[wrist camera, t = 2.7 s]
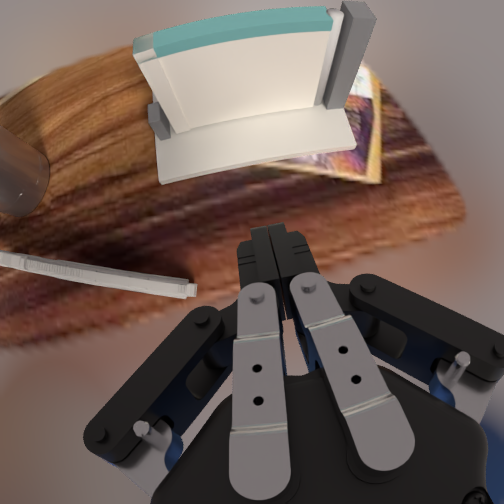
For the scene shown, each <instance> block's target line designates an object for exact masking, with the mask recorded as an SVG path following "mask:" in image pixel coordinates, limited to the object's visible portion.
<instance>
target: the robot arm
mask: <svg viewBox="0 0 504 504" xmlns="http://www.w3.org/2000/svg"><path fill="white" fill-rule="evenodd" d="M49 174H50V170H49V163H48V160H47V158H46V157H45V156H44V155H43V154H42V153H40V152H39V151H37V150H36V149H34V148H33V147H31V146H30V145H28V144H27V143H26V142H24V141H23V140H21V139H20V138H18V137H17V136H15V135H14V134H12V133H11V132H9V131H8V130H7V129H5V128H4V127H2V126H1V125H0V212H2V213H7V214H10V215H13V216H16V217H22V216H25V215H27V214H29V213H30V212H32V211H33V210H34V209H35V208H36V206H37V205H38V204H39V202H40V201H41V199H42V197H43V195H44V193H45V191H46V188H47V185H48V181H49ZM267 227H268V231H267ZM267 227H266V226H262V227H257V228H252V229H250V231H251V237H252V240H249V241H244V242H240V244H239V246H238V248H237V258H238V268H239V278H240V288H241V291H240V293H239V295H238V299H237V300H236V301H235V302H234V303H233V304H232V305H230V306H228V307H226V308H224V309H222V310H220V311H218V310H217V309H216V308H214V307H211V306H201V307H198V308H195V309H194V310H192V311H191V312H189V313H188V314H187V316H186V317H185V318H184V319H183V320H182V321H181V322H180V323H179V324H178V325H177V327H176V328H175V329H174V330H173V331H172V332H171V333H170V334H169V335H168V336H167V338H166V339H165V340H164V341H163V342H162V343H161V344H160V345H159V346H158V347H157V348H156V350H155V351H154V352H153V353H152V354H151V355H150V356H149V357H148V358H147V359H146V361H145V362H144V363H143V364H142V365H141V366H140V367H139V368H138V369H137V370H136V371H135V373H134V374H133V375H132V376H131V377H130V378H129V379H128V380H127V381H126V382H125V384H124V385H123V386H122V387H121V388H120V389H119V390H118V391H117V392H116V394H115V395H114V396H113V397H112V398H111V399H110V400H109V401H108V402H107V403H106V404H105V406H104V407H103V408H102V409H101V410H100V411H99V412H98V413H97V414H96V416H95V417H94V418H93V419H92V420H91V421H90V422H89V423H88V425H87V426H86V428H85V430H84V436H83V440H84V444H85V446H86V447H87V449H88V450H89V451H90V452H92V453H94V454H95V455H97V456H99V457H101V458H102V459H103V460H104V461H106V462H108V463H109V464H111V465H113V466H115V467H117V468H118V469H119V470H120V471H121V472H123V473H124V474H125V475H126V476H127V477H128V478H129V479H130V480H131V481H132V482H134V483H135V484H136V485H137V486H138V487H139V488H140V489H142V490H143V491H144V492H145V493H146V494H148V495H149V496H150V497H151V498H152V499H151V503H150V504H494V503H493V502H492V500H491V498H490V496H489V494H488V492H487V488H486V479H485V475H486V472H485V471H486V461H487V454H488V443H487V438H486V435H485V432H484V430H483V429H482V427H481V426H480V422H481V419H482V417H483V415H484V413H485V410H486V408H487V405H488V403H489V401H490V398H491V396H492V393H493V390H494V388H495V385H496V383H497V382H498V381H499V380H500V378H501V377H502V376H503V375H504V335H502V334H500V333H498V332H496V331H494V330H492V329H490V328H488V327H486V326H484V325H482V324H480V323H478V322H475V321H474V320H472V319H470V318H467V317H465V316H463V315H461V314H459V313H457V312H455V311H453V310H450V309H448V308H446V307H444V306H442V305H440V304H438V303H436V302H434V301H431V300H429V299H427V298H425V297H423V296H421V295H418V294H416V293H414V292H412V291H410V290H407V289H405V288H403V287H401V286H398V285H396V284H394V283H392V282H390V281H388V280H386V279H383V278H381V277H379V276H376V275H373V274H361V275H358V276H356V277H354V278H353V279H352V281H351V282H350V284H335V283H331V282H329V281H327V280H326V279H325V278H324V277H323V276H322V275H320V273H319V271H318V268H317V266H316V263H315V261H314V258H313V256H312V254H311V251H310V249H309V246H308V244H307V241H306V239H305V237H304V236H303V235H302V234H301V233H299V232H298V231H294V232H289V233H287V231H286V228H285V225H284V223H283V222H282V223H277V224H271V225H267ZM268 233H269V235H268ZM283 303H284V304H283ZM284 307H285V311H286V315H287V320H288V319H292V318H293V321H294V325H295V332H296V337H297V339H298V342H299V345H300V348H301V351H302V354H303V357H304V359H305V362H306V365H307V368H308V372H309V373H308V374H305V375H302V376H287V369H286V360H285V350H284V342H283V324H282V321H284V320H286V318H285V311H284ZM371 354H372V355H374V356H376V357H378V358H379V359H381V360H383V361H385V362H386V363H389V364H390V365H392V366H394V367H396V368H398V369H399V370H401V371H403V372H405V373H407V374H408V375H410V376H412V377H414V378H416V379H418V380H419V381H421V382H423V383H425V384H427V385H428V387H429V392H430V393H428V392H427V391H425V390H423V389H422V388H420V387H418V386H416V385H415V384H413V383H411V382H410V381H408V380H406V379H405V378H403V377H401V376H400V375H398V374H396V373H395V372H393V371H391V370H390V369H387V368H385V367H383V366H379V365H376V363H375V361H374V359H373V357H372V355H371ZM232 371H233V393H232V394H231V395H229V396H228V397H227V398H225V399H224V400H223V401H222V402H221V403H220V404H219V405H218V406H217V408H216V409H215V410H214V412H213V413H212V414H211V416H210V417H209V419H208V420H207V421H206V423H205V424H204V426H203V427H202V429H201V430H200V431H199V433H198V434H197V435H196V437H195V438H194V440H193V441H192V442H191V443H190V445H189V446H188V448H187V449H186V450H185V452H184V453H183V454H182V452H183V448H184V447H183V445H184V444H183V441H182V438H181V436H182V435H183V434H184V432H185V431H186V430H187V429H188V427H189V426H190V425H191V424H192V422H193V421H194V420H195V419H196V417H197V416H198V415H199V414H200V412H201V411H202V410H203V408H204V407H205V406H206V405H207V403H208V402H209V401H210V399H211V398H212V397H213V396H214V394H215V393H216V392H217V390H218V389H219V388H220V387H221V385H222V384H223V382H224V381H225V380H226V379H227V377H228V376H229V375H230V373H231V372H232ZM181 454H182V455H181ZM180 456H181V457H180Z"/></svg>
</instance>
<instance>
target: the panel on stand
mask: <svg viewBox="0 0 504 504" xmlns="http://www.w3.org/2000/svg"><path fill="white" fill-rule="evenodd" d="M340 11H342V12H343V14H344V17H343V21H342V25H341V30H340V34H339V38H338V41H337V45H336V49H335V53H334V57H333V61H332V65H331V69H330V73H329V76H328V80H327V84H326V88H325V92H324V95H323V99H322V103H321V104H320V105H318V106H314V105H313V107H308V108H300V109H293V110H285V111H279V112H272V113H266V114H260V115H254V116H248V117H243V118H238V119H232V120H227V121H223V122H218V123H213V124H209V125H204V126H200V127H195V128H191V130H189V131H185V132H181V133H177V134H176V132H175V130H174V129H173V127H172V125H171V123H170V121H169V120H168V118H167V116H166V114H165V112H164V111H163V109H162V107H161V105H160V103H159V102H158V100H157V98H156V96H155V94H154V93H153V103H151V104H148V122H149V125H150V126H151V128H152V129H153V130H154V132H155V143H156V155H157V167H158V177H159V182H160V183H161V184H162V185H163V184H167V183H171V182H175V181H180V180H184V179H188V178H192V177H197V176H201V175H206V174H210V173H215V172H220V171H224V170H229V169H234V168H239V167H244V166H249V165H255V164H260V163H266V162H271V161H277V160H283V159H289V158H295V157H301V156H308V155H314V154H321V153H328V152H336V151H343V150H351V149H355V147H356V142H355V139H354V136H353V133H352V130H351V128H350V125H349V122H348V119H347V117H346V114H345V111H344V109H343V108H344V105H345V103H346V100H347V98H348V95H349V92H350V90H351V87H352V85H353V82H354V79H355V77H356V74H357V72H358V69H359V66H360V64H361V61H362V58H363V56H364V53H365V50H366V47H367V45H368V42H369V39H370V37H371V34H372V31H373V28H374V25H375V23H376V20H377V19H376V17H375V16H374V14H373V13H372V11H371V10H370V8H369V7H368V6H367V4H366V3H365V2H358V1H342V5H341V10H340Z"/></svg>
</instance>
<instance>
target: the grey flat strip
mask: <svg viewBox="0 0 504 504" xmlns="http://www.w3.org/2000/svg"><path fill="white" fill-rule="evenodd" d="M0 265H1V266H5V267H11V268H15V269H19V270H23V271H28V272H33V273H38V274H43V275H48V276H53V277H56V278H60V279H65V280H71V281H76V282H81V283H87V284H93V285H98V286H104V287H110V288H116V289H122V290H129V291H135V292H141V293H148V294H155V295H162V296H169V297H176V298H183V299H186V298H187V296H190V297H191V296H192V297H196V290H197V284H194V283H189V280H188V279H182V278H174V277H167V276H160V275H153V274H146V273H139V272H133V271H126V270H119V269H113V268H107V267H100V266H94V265H88V264H82V263H76V262H70V261H64V260H51V259H46V258H40V257H38V256H32V255H27V254H21V253H20V254H19V253H14V252H9V251H3V250H0Z"/></svg>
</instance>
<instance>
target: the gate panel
mask: <svg viewBox="0 0 504 504" xmlns="http://www.w3.org/2000/svg"><path fill="white" fill-rule="evenodd" d="M343 17H344V14H343V12H342V11H340V10H338V9H334V8H330V9H328V10H327V9H326V7H325V6H318V7H317V6H315V7H294V8H293V7H292V8H280V9H268V10H259V11H251V12H245V13H238V14H231V15H226V16H220V17H214V18H209V19H204V20H200V21H196V22H191V23H187V24H183V25H179V26H175V27H171V28H167V29H164V30H161V31H157V32H154V33H150V34H147V35H144V36H141V37H138V38H135V39H134V40H133V56H134V58H135V60H136V62H137V64H138V65H139V67H140V69H141V71H142V73H143V74H144V76H145V78H146V80H147V82H148V84H149V85H150V87H151V89H152V91H153V93H154V94H155V96H156V98H157V100H158V102H159V103H160V105H161V107H162V109H163V111H164V112H165V114H166V116H167V118H168V120H169V121H170V123H171V125H172V127H173V129H174V130H175V132H176V134H177V133H181V132H185V131H189V130H191V128H195V127H200V126H204V125H209V124H213V123H218V122H223V121H227V120H232V119H238V118H243V117H248V116H254V115H260V114H266V113H272V112H279V111H285V110H293V109H300V108H308V107H313V105H314V106H318V105H320V104H321V103H322V99H323V95H324V92H325V88H326V84H327V80H328V76H329V73H330V69H331V65H332V61H333V57H334V53H335V49H336V45H337V41H338V38H339V34H340V30H341V25H342V21H343Z"/></svg>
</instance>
